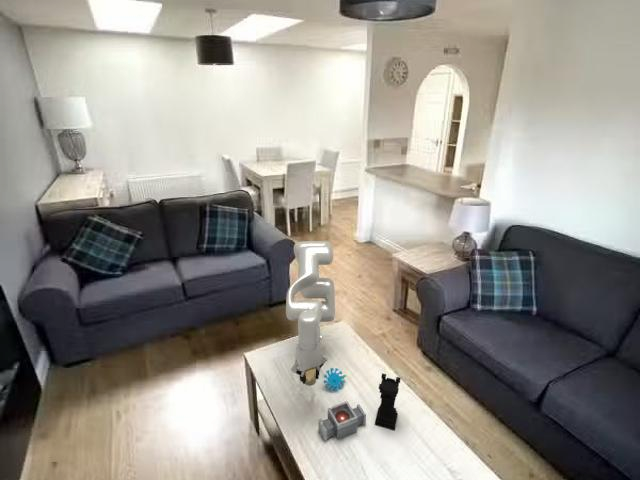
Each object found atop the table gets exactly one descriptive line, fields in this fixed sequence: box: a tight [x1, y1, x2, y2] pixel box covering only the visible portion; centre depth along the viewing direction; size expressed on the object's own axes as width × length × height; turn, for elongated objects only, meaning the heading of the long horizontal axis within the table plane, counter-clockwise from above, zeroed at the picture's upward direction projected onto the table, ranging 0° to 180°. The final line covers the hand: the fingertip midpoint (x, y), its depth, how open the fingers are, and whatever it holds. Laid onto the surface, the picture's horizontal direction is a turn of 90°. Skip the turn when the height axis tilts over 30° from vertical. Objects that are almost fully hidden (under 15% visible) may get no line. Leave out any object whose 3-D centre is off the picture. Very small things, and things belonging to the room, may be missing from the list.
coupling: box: [304, 367, 317, 387], centre depth 139 cm, size 5×5×7 cm
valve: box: [317, 400, 367, 442], centre depth 140 cm, size 9×18×8 cm, turn 114°
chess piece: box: [374, 373, 401, 431], centre depth 141 cm, size 8×8×20 cm
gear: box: [323, 367, 347, 392], centre depth 162 cm, size 11×6×10 cm
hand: (309, 378), depth 140 cm, fingers closed on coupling, 5 cm apart
